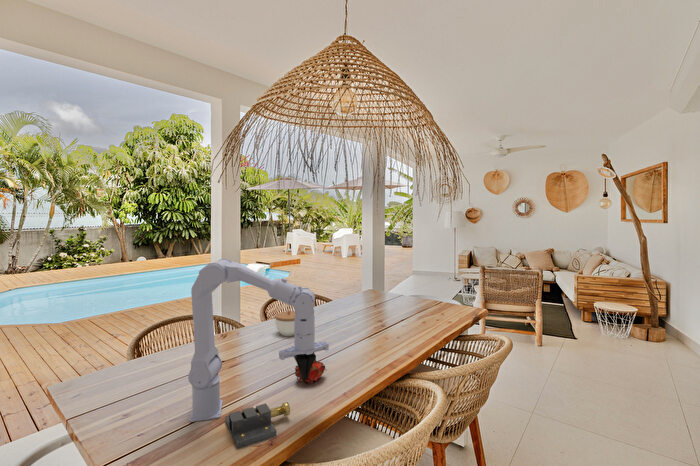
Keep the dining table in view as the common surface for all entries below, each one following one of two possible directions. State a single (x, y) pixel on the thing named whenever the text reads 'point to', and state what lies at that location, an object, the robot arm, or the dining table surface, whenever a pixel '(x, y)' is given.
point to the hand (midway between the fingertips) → (304, 378)
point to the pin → (280, 410)
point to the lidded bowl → (285, 323)
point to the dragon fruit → (312, 372)
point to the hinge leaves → (250, 425)
